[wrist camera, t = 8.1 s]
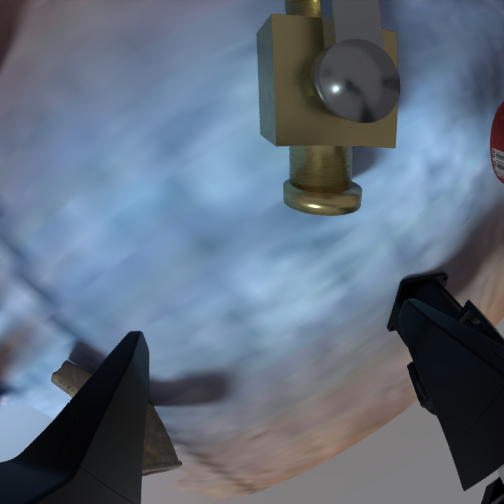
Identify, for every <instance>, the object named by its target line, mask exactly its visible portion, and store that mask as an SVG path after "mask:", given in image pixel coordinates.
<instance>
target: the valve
mask: <svg viewBox="0 0 504 504" xmlns="http://www.w3.org/2000/svg"><path fill="white" fill-rule="evenodd" d="M285 12H286V15H284V14H271V15H270V17H269V18H268V19H267V20H266V22H265V23H264V24H263V26H262V27H261V28H260V30H259V31H258V32H257V54H258V80H259V107H260V135H262V136H263V137H264V138H266V139H267V140H268V141H270V142H271V143H272V144H274V145H275V146H289V179H288V180H286V181H285V182H284V184H283V200H284V203H285V204H286V205H287V206H289V207H290V208H292V209H294V210H297V211H300V212H304V213H308V214H314V215H326V216H334V215H345V214H349V213H353V212H355V211H357V210H358V209H359V208H360V206H361V198H362V188H361V187H360V186H359V185H358V184H356V183H354V182H352V167H353V149H354V146H363V147H384V148H395V146H396V131H397V110H398V101H397V103H396V105H395V107H394V109H393V110H392V111H391V112H390V113H389V114H388V115H387V116H386V117H385V118H383V119H381V120H379V121H376V122H373V123H358V122H354V121H350V120H345V119H341V118H338V117H336V116H334V115H332V114H330V113H329V112H327V111H326V110H325V109H324V108H323V107H322V106H321V105H320V104H319V102H318V101H317V99H316V97H315V96H314V93H313V91H312V87H311V82H310V72H311V67H312V64H313V62H314V59H315V58H316V56H317V55H318V54H319V53H320V52H321V51H322V50H323V49H325V46H324V33H323V22H322V12H321V3H320V0H285ZM382 32H383V44H384V51H385V52H386V53H387V54H388V55H389V56H390V58H391V59H392V61H393V62H394V64H395V66H396V68H397V71H398V55H397V35H396V32H393V31H389V30H385V29H382Z"/></svg>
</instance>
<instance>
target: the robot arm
mask: <svg viewBox="0 0 504 504" xmlns="http://www.w3.org/2000/svg"><path fill="white" fill-rule="evenodd" d="M447 280H448V275H447V274H446V273H440V274H434V275H429V276H424V277H418V278H413V279H407V280H403V281H402V282H401V283H400V285H399V289H398V292H397V296H396V299H395V303H394V306H393V309H392V313H391V316H390V319H389V322H388V325H387V329H388V330H389V331H395V330H396V331H397V332H398V334H399V335H400V337H401V339H402V340H403V342H404V343H405V345H406V346H407V347H408V349H409V352H410V355H411V357H412V359H413V362H410V363H409V364H408V365H407V368H408V370H409V375H410V378H411V380H412V383H413V386H414V389H415V392H416V394H417V397H418V400H419V402H420V405H421V406H422V407H423V408H426V409H427V410H428V411H429V412H430V413H432V414H433V415H436V416H437V418H438V419H439V422H440V424H441V427H442V429H443V432H444V435H445V437H446V440H447V443H448V446H449V449H450V451H451V454H452V457H453V460H454V463H455V466H456V469H457V472H458V475H459V478H460V481H461V485H462V488H463V490H464V491H466V490H467V489H469V488H470V487H472V486H474V485H475V484H477V483H478V482H480V481H481V480H483V479H484V478H486V477H487V476H489V475H490V474H492V473H493V472H494V471H496V470H497V471H498V474H499V477H498V478H497V479H496V480H494V481H493V482H492V483H490V484H489V485H488V486H487V487H486V490H485V493H484V496H483V500H482V503H481V504H504V338H503V337H502V335H501V334H500V333H499V332H498V330H497V329H496V328H495V327H494V325H493V324H492V323H491V322H490V321H489V320H488V319H487V318H486V317H485V315H484V314H483V313H482V312H481V311H480V310H479V309H478V308H477V307H476V306H475V305H474V304H473V303H472V302H471V301H470V300H469V299H468V301H467V302H466V303H465V306H464V307H462V306H461V305H460V304H459V303H458V302H457V301H456V300H455V299H454V297H453V296H452V295H451V294H450V293H449V292H448V291H447V290H446V289H445V286H446V283H447ZM148 399H149V349H148V346H147V343H146V340H145V338H144V335H143V333H142V332H141V331H130V332H129V333H128V334H127V335H126V336H125V337H124V338H123V339H122V340H121V342H120V343H119V344H118V345H117V346H116V347H115V348H114V350H113V351H112V352H111V353H110V354H109V355H108V356H107V358H106V359H105V360H104V361H103V362H102V363H101V365H100V366H99V367H98V368H97V369H96V370H95V372H94V373H93V374H92V375H91V376H90V377H89V379H88V380H87V381H86V382H85V383H84V385H83V386H82V387H81V388H80V389H79V391H78V392H77V393H76V394H75V395H74V397H73V398H72V399H71V400H70V403H68V404H67V405H66V406H65V407H64V409H63V410H62V411H61V412H60V413H59V414H58V416H57V417H56V418H55V419H54V420H53V421H52V423H50V424H49V426H48V427H47V428H46V429H45V430H44V431H43V432H42V433H41V434H40V435H39V436H38V437H37V438H36V439H35V440H34V441H33V442H32V443H31V444H30V445H29V446H28V447H27V448H26V449H25V450H24V451H23V452H22V453H21V454H20V455H18V456H17V457H15V458H13V459H11V460H8V461H5V462H1V463H0V504H141V483H142V466H143V451H144V439H145V428H146V418H147V409H148Z"/></svg>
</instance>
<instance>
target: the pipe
mask: <svg viewBox="0 0 504 504" xmlns="http://www.w3.org/2000/svg"><path fill="white" fill-rule="evenodd" d="M91 375H92V373H90V372H89V371H87V370H85V369H83V368H81V367H79V366H77V365H75V364H73V363H71V362H69V361H68V360H66V361H65V362H64V363H63V364H62V366H61V368H60V369H59V370H58V371H56V372H54V373H53V374H52V378H51V382H52V383H54V384H55V385H56V386H58V387H59V388H60V389H62V390H63V391H64V392H66V393H67V394H68V395H70V396H71V397H74V395H75V394H76V393H77V392H78V391H79V389H80V388H81V387H82V386H83V385H84V383H85V382H86V381H87V380H88V379H89V377H90V376H91ZM181 465H182V462H181V461H179V460H178V458H177V455H176V452H175V449H174V447H173V444H172V442H171V440H170V437H169V435H168V433H167V431H166V429H165V427H164V425H163V423H162V421H161V419H160V418H159V416H158V413H157V412H156V411H155V408H154V405H153V404H152V403H149V402H148V409H147V418H146V428H145V439H144V451H143V466H142V476H147V475H150V474H154V473H161V472H166V471H170V470H174V469H176V468H178V467H180V466H181Z"/></svg>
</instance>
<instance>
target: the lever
mask: <svg viewBox="0 0 504 504" xmlns="http://www.w3.org/2000/svg"><path fill="white" fill-rule="evenodd" d="M320 3H321V12H322V22H323V33H324V46H325V49H323V50H322V51H321V52H320V53H319V54H318V55H317V56H316V58H315V59H314V62H313V64H312V67H311V72H310V82H311V87H312V91H313V93H314V96H315V97H316V99H317V101H318V102H319V104H320V105H321V106H322V107H323V108H324V109H325V110H326V111H327V112H329V113H330V114H332V115H334V116H336V117H338V118H341V119H345V120H350V121H354V122H358V123H373V122H376V121H379V120H381V119H383V118H385V117H386V116H387V115H388V114H389V113H390V112H391V111H392V110H393V109H394V107H395V105H396V103H397V101H398V98H399V93H400V79H399V74H398V71H397V68H396V66H395V64H394V62H393V61H392V59H391V58H390V56H389V55H388V54H387V53H386V52H385V51H384V44H383V32H382V22H381V13H380V6H379V0H320Z"/></svg>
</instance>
